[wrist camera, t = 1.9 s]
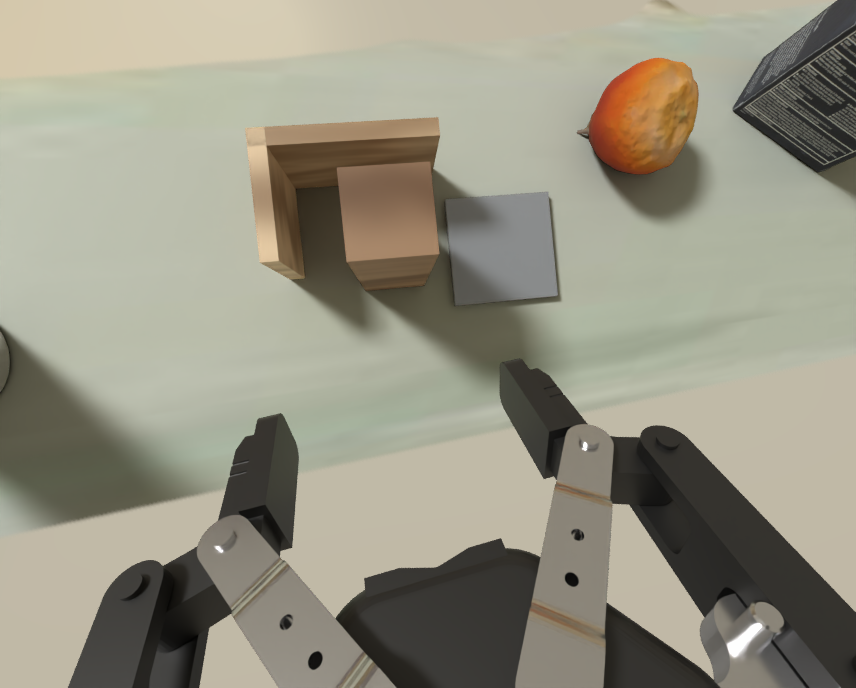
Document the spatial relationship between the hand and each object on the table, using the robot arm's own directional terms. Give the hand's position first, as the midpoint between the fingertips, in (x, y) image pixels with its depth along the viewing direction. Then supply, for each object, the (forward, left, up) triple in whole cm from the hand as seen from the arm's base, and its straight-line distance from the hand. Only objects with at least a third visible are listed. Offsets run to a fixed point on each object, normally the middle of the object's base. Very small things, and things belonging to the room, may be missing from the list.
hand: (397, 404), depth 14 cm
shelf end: (-8, +10, -19) cm, 22 cm away
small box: (+24, +36, -19) cm, 47 cm away
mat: (+4, +13, -19) cm, 23 cm away
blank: (-4, +8, -19) cm, 21 cm away
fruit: (+10, +26, -19) cm, 34 cm away
